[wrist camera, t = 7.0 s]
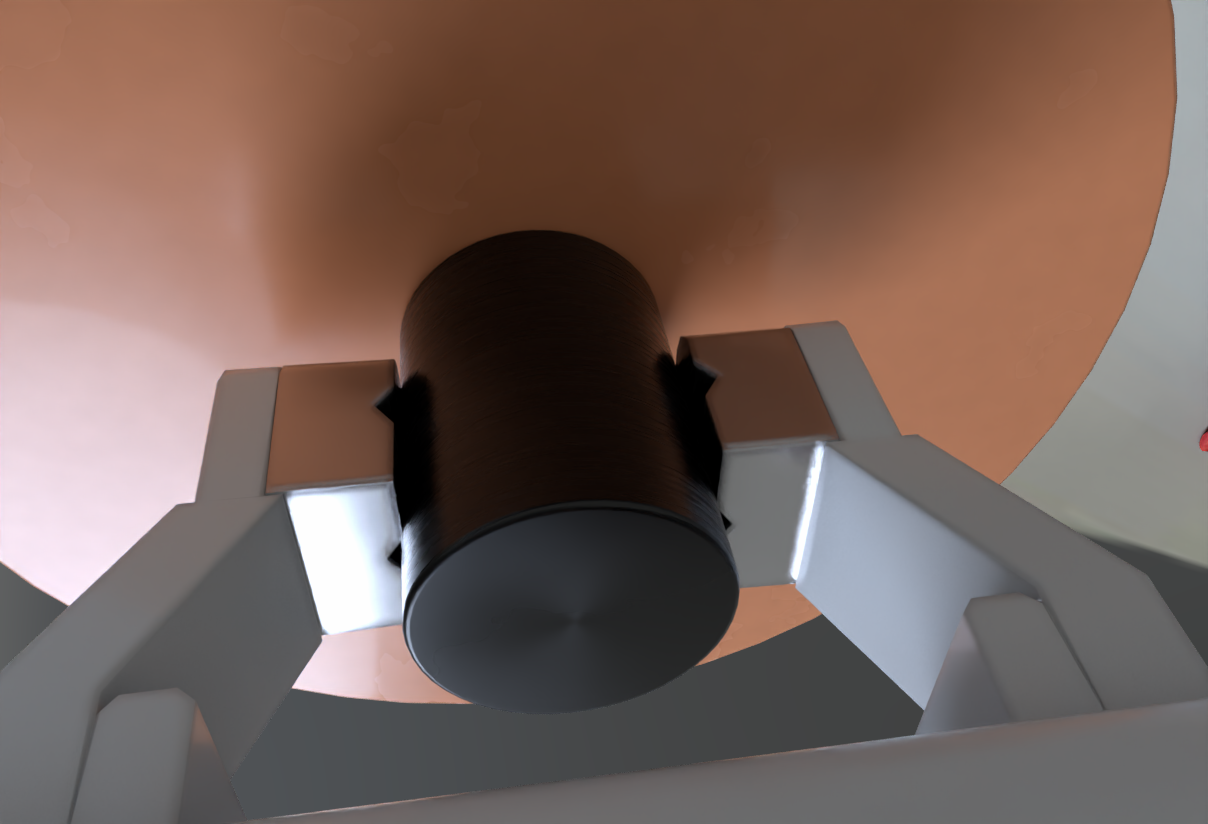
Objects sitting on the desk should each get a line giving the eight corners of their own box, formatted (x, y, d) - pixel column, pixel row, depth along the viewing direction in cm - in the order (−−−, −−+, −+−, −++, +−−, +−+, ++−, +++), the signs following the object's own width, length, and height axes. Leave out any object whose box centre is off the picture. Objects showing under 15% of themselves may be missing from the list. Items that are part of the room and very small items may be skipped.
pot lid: (-358, 398, 11) (-694, 830, 8) (289, -1241, 5) (99, -2442, 2) (590, 720, 18) (638, 1027, 14) (1326, 152, 12) (1695, 437, 9)
